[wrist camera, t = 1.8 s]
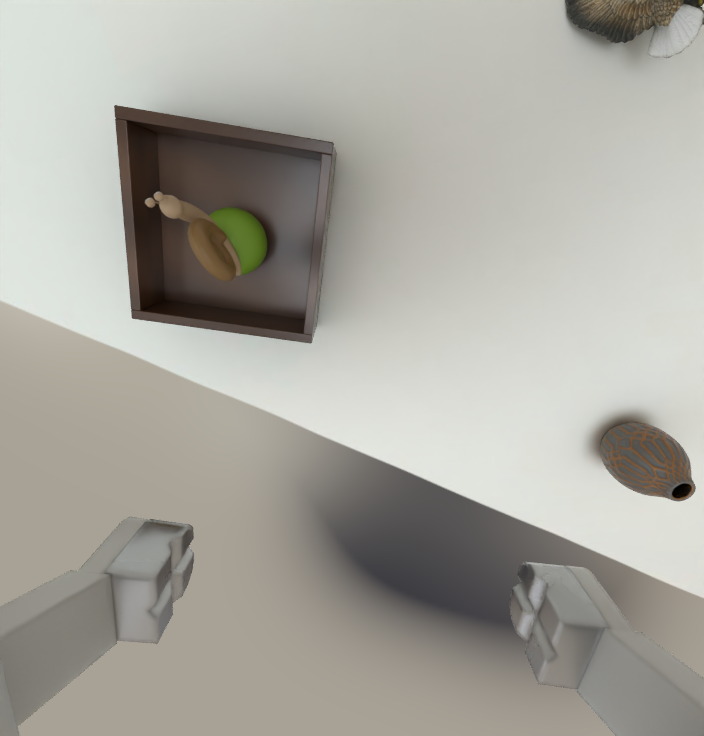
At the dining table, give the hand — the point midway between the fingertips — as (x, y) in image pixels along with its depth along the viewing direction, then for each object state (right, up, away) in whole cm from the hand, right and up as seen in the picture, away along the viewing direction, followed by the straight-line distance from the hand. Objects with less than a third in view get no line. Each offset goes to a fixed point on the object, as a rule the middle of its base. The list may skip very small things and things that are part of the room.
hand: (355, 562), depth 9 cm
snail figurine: (-10, +17, +25) cm, 31 cm away
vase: (+31, -3, +34) cm, 46 cm away
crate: (-10, +17, +25) cm, 32 cm away
